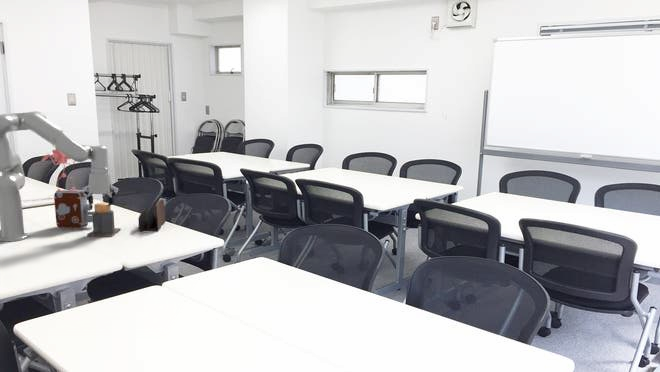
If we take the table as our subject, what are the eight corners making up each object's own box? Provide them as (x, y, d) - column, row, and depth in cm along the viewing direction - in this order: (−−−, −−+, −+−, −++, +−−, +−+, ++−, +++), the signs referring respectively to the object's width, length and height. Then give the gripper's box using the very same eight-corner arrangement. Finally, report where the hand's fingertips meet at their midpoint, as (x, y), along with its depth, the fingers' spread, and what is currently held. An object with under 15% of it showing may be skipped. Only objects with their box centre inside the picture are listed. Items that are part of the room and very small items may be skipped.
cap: (92, 219, 252) (91, 205, 251) (98, 216, 260) (97, 202, 259) (107, 219, 253) (106, 205, 252) (113, 216, 260) (112, 202, 259)
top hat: (87, 236, 252) (85, 214, 250) (97, 230, 263) (95, 209, 261) (111, 236, 252) (110, 214, 250) (120, 230, 264) (119, 209, 262)
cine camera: (91, 229, 265) (88, 192, 262) (54, 229, 265) (51, 191, 262) (99, 225, 274) (97, 188, 271) (64, 224, 274) (61, 188, 271)
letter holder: (165, 222, 283) (164, 197, 280) (158, 231, 263) (157, 205, 261) (147, 222, 281) (145, 197, 279) (138, 232, 262) (137, 205, 260)
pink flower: (88, 194, 356) (84, 145, 351) (48, 199, 338) (43, 147, 333) (80, 192, 367) (75, 144, 361) (40, 197, 349) (35, 146, 343)
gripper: (78, 171, 248) (80, 205, 251) (114, 172, 249) (115, 206, 252) (85, 169, 255) (86, 202, 258) (120, 170, 256) (121, 203, 259)
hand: (100, 204), depth 255 cm, fingers open, 9 cm apart
